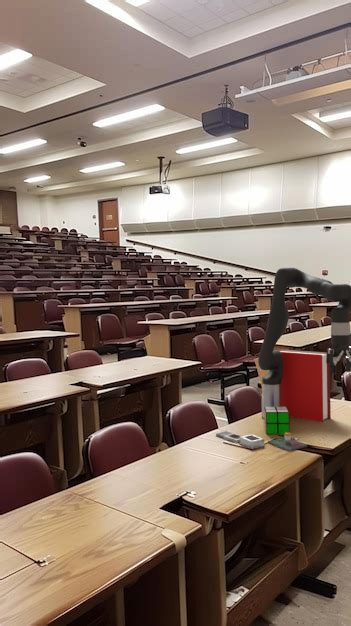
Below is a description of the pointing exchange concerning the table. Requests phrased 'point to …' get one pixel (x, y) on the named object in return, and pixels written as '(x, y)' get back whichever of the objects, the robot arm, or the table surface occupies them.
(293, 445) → the keeper
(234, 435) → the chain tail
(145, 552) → the table surface
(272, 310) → the robot arm
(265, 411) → the puzzle cube
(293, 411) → the book
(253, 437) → the link
